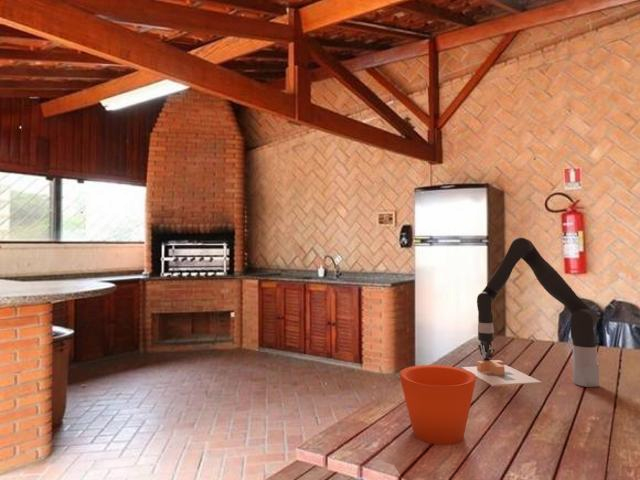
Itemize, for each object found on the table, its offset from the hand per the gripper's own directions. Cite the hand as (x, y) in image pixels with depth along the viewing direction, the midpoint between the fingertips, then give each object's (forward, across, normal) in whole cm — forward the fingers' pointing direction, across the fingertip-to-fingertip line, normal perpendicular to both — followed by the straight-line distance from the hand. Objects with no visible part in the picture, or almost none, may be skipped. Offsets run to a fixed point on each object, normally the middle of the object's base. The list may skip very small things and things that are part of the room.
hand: (486, 365), depth 229 cm
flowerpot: (+2, -73, +55) cm, 91 cm away
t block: (+1, -8, 0) cm, 8 cm away
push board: (+2, -12, 0) cm, 12 cm away
